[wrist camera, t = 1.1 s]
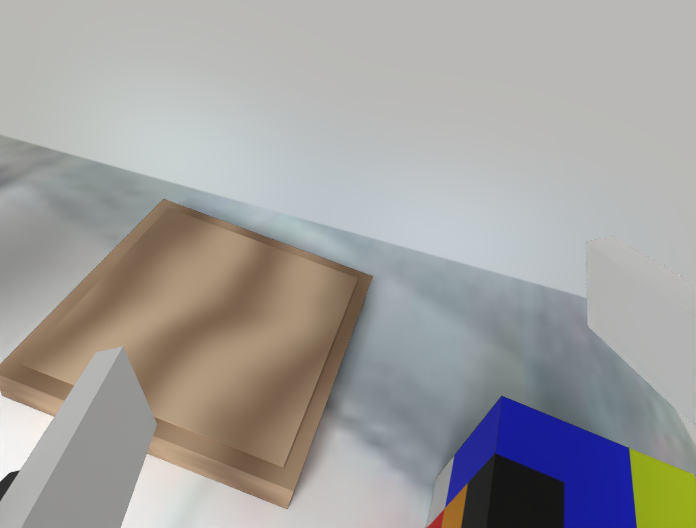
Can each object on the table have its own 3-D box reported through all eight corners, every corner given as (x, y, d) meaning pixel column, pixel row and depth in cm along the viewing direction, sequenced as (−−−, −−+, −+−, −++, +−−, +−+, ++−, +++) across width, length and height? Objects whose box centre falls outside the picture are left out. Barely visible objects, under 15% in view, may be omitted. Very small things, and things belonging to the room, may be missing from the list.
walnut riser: (2, 395, 31) (-9, 370, 29) (164, 222, 44) (163, 196, 42) (287, 509, 30) (294, 489, 28) (365, 297, 43) (373, 274, 41)
